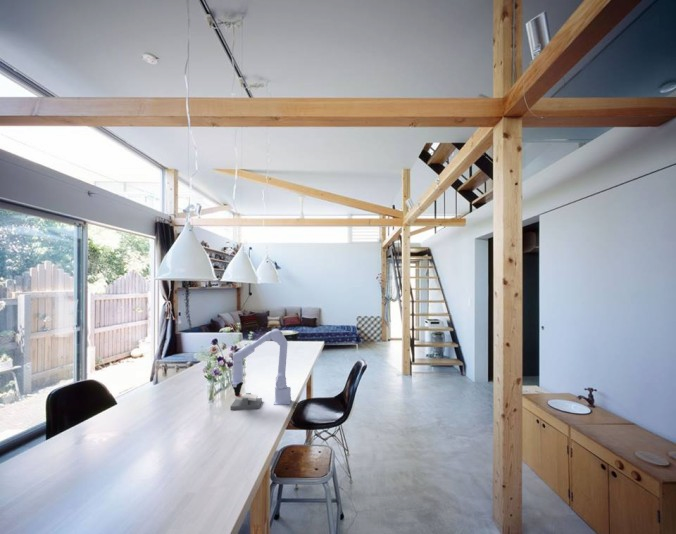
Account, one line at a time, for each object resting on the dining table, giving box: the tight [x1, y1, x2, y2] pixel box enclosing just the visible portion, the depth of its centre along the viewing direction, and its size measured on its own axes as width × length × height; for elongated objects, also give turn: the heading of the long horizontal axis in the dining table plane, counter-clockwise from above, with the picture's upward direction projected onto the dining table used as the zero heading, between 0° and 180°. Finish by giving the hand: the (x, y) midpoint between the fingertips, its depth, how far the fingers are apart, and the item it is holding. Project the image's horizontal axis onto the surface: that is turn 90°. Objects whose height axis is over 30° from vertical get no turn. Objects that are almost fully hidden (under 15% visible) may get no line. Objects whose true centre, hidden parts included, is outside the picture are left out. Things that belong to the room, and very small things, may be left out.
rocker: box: [234, 393, 259, 401], centre depth 189 cm, size 12×6×1 cm, turn 94°
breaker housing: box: [230, 392, 263, 411], centre depth 189 cm, size 16×11×6 cm
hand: (237, 395), depth 189 cm, fingers closed, pressing on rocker
